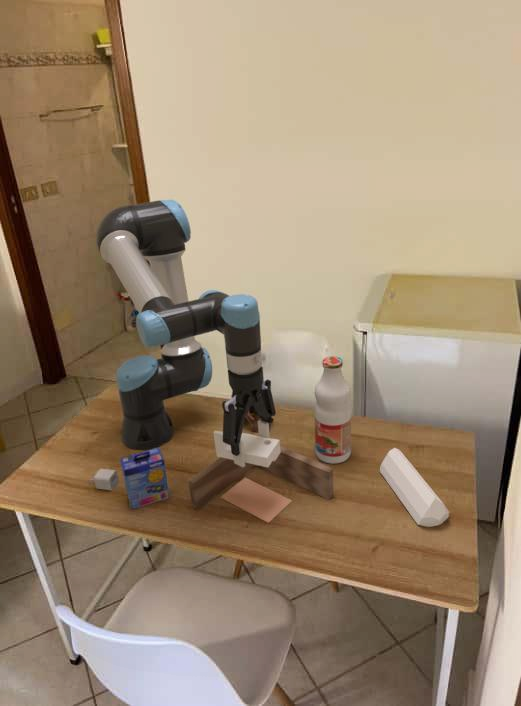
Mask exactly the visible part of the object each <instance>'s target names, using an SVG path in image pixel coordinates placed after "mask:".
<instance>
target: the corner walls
mask: <svg viewBox="0 0 521 706" xmlns="http://www.w3.org/2000/svg"><path fill="white" fill-rule="evenodd" d="M251 435H254V434H253V433H252V434H251ZM280 451H281V453H280V454H279V456H278V457H277V459H276V460H275V462H274V461H272V463H271V464H270V466H269V467H264V466H259V465H254V464H250V463H245V466H244V467H241V466H239V465H237V464H235V463H234V460H231V459H226V458H222V457H218V458H217V459H216V460H215V461H212V463H210V464H209V465H208V466H206V467H205V468H203V469H202V470H201V471H199V472H198V473H196V474H195V475H194V476H192V477H191V478H190V479H188V489H189V494H190V500H191V507H192V508H193V509H195V510H196V511H198V510H199V509H201V508H202V507H204V506H205V505H206V504H207V503H209V501H211V500H212V499H214V498H215V497H216V496H217V495H219V494H220V493H221V492H223V491H224V490H225V489H227V488H228V487H229V486H230V485H232V484H233V483H234V482H236V481H237V480H238V479H239V478H241V477H242V476H243V475H245V473H247V472H249V470H251V469H252V468H254V467H255V466H256V467H258V468H261V469H263V470H265V471H267V472H269V473H271V474H274V475H276V476H278V477H280V478H282V479H284V480H286V481H288V482H290V483H293V484H294V485H296V486H299V487H300V488H304V489H306V490H308V491H310V492H312V493H314V494H316V495H319V496H320V497H322V498H325V499H327V500H330V499H332V498H333V497H334V468H332V467H330V466H328V465H325V464H323V463H320V462H319V461H317V460H314V459H311V458H308V457H307V456H305V455H302V454H299V452H298V453H297V452H295V451H292V450H290V449H288V448H286V447H283V446H281V445H280Z"/></svg>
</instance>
